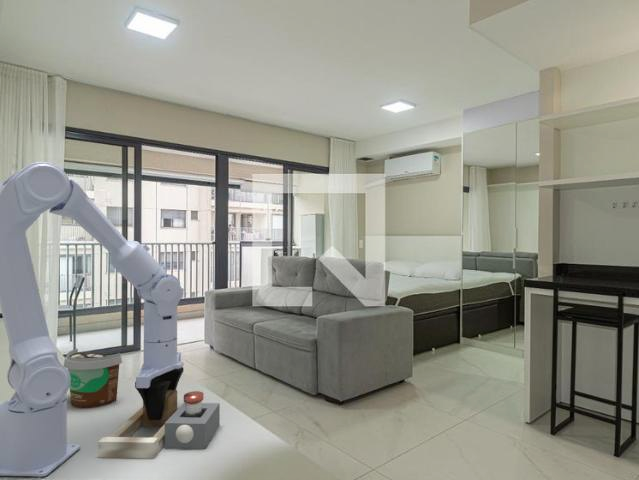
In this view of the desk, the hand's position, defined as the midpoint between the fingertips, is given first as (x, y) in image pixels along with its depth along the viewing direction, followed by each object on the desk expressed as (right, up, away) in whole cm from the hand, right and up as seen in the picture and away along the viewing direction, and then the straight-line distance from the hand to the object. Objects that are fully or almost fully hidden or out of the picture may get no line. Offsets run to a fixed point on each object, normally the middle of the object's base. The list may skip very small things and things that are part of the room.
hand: (160, 413), depth 73 cm
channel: (0, -1, -3) cm, 4 cm away
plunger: (+8, +1, -6) cm, 10 cm away
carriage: (0, -1, 0) cm, 1 cm away
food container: (-18, -2, +8) cm, 20 cm away
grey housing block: (+8, -1, -6) cm, 10 cm away
